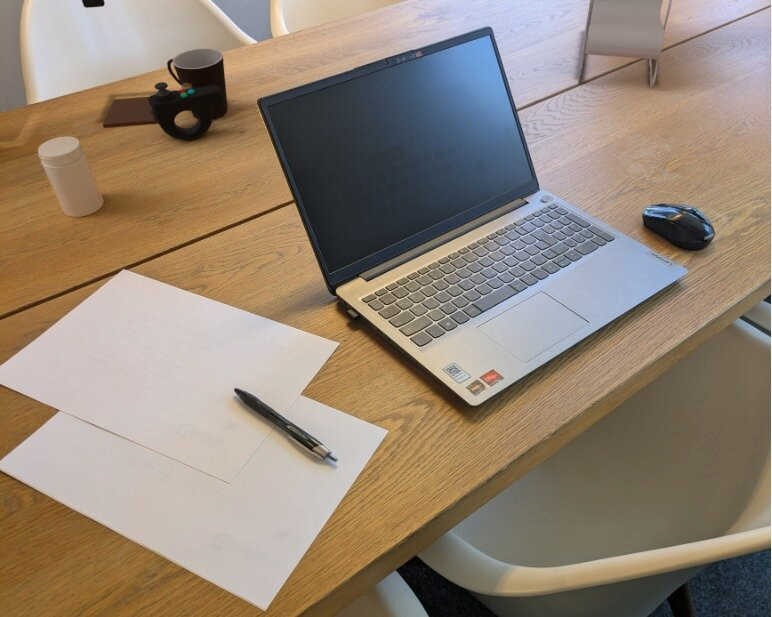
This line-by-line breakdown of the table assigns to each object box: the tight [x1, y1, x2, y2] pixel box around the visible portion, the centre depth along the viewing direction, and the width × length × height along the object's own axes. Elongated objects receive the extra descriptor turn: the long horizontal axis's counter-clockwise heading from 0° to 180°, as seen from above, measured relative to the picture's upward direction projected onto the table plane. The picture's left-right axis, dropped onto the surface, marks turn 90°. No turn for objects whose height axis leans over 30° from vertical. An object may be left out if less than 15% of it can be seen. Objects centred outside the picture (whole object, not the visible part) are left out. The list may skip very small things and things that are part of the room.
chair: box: [577, 0, 673, 89], centre depth 124 cm, size 13×25×20 cm, turn 165°
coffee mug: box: [166, 48, 229, 121], centre depth 118 cm, size 12×9×10 cm
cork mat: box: [102, 96, 158, 128], centre depth 122 cm, size 10×10×1 cm
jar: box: [37, 136, 105, 218], centre depth 97 cm, size 6×6×10 cm
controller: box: [148, 81, 224, 141], centre depth 111 cm, size 4×12×10 cm, turn 111°
